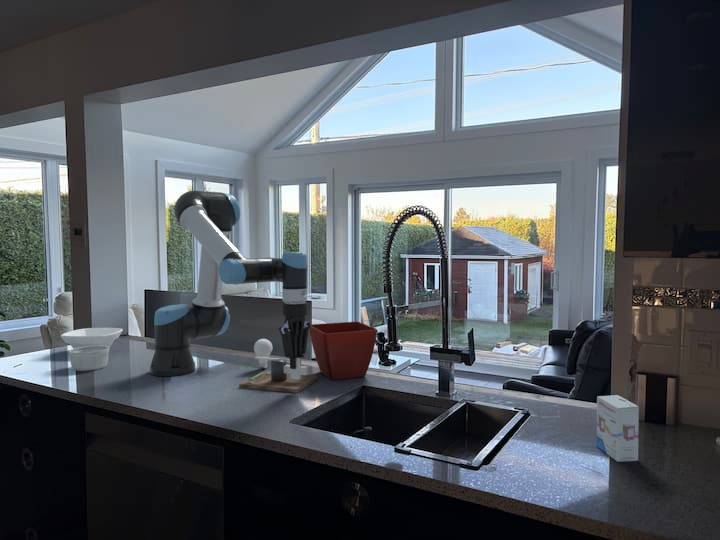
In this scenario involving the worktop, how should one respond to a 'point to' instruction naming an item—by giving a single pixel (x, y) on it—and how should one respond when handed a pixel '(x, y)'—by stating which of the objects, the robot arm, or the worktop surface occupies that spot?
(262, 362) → the light bulb
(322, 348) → the plant pot
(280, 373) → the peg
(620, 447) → the ink box
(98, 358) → the ramekin
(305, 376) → the board
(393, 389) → the worktop surface
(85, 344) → the bowl
